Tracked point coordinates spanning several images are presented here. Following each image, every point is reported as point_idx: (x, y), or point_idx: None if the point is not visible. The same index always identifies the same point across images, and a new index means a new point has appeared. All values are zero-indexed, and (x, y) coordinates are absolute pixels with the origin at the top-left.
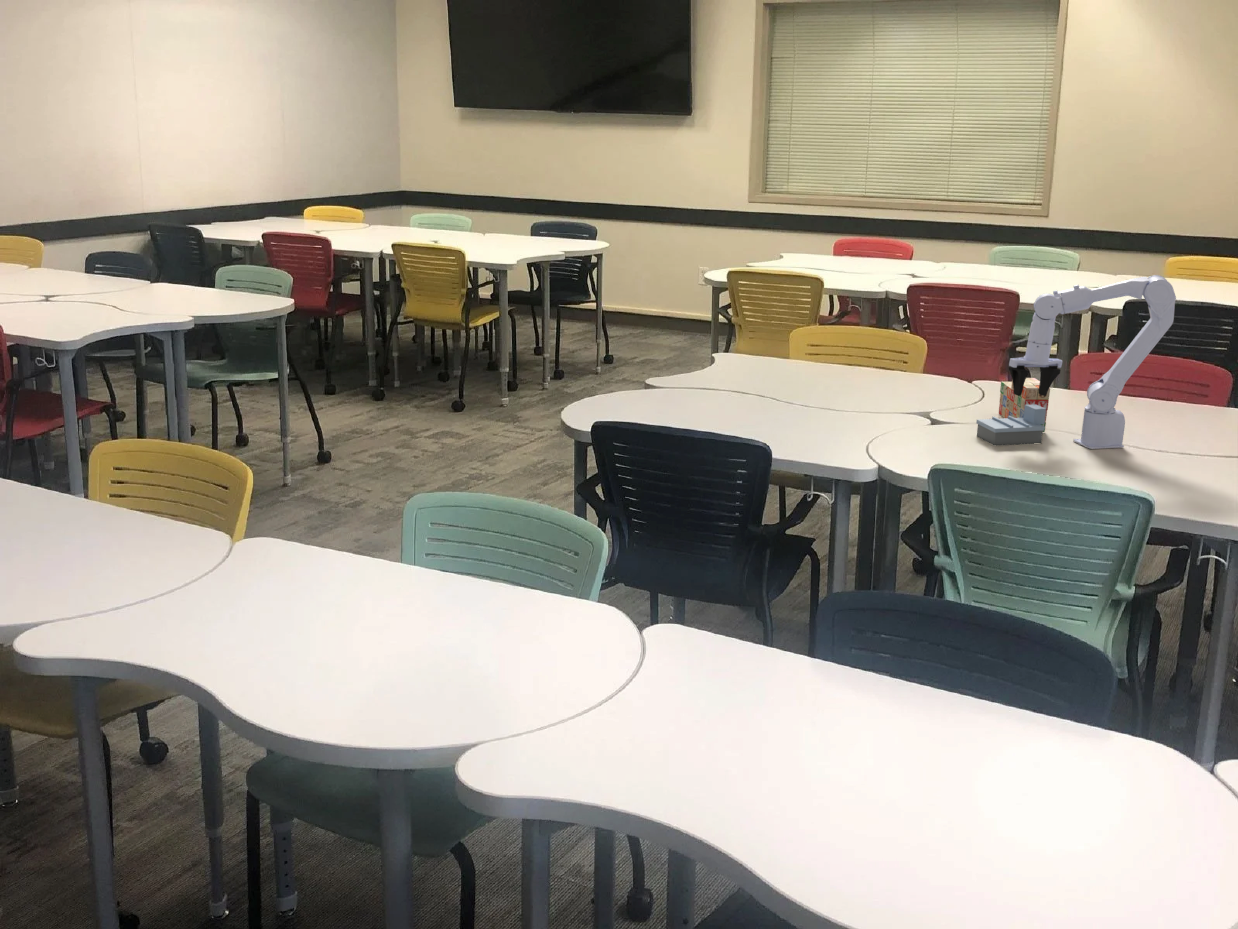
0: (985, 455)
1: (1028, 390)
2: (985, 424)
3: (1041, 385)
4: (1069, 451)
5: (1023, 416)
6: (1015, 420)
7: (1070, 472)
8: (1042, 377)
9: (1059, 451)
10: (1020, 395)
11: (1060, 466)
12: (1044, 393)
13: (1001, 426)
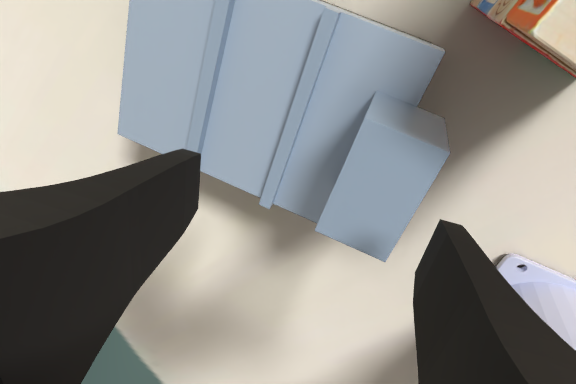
0: (77, 171)
1: (543, 44)
2: (127, 43)
3: (448, 284)
4: (355, 300)
5: (483, 10)
6: (294, 99)
7: (187, 373)
8: (470, 350)
9: (324, 281)
10: (193, 209)
11: (201, 342)
12: (414, 289)
13: (166, 122)
